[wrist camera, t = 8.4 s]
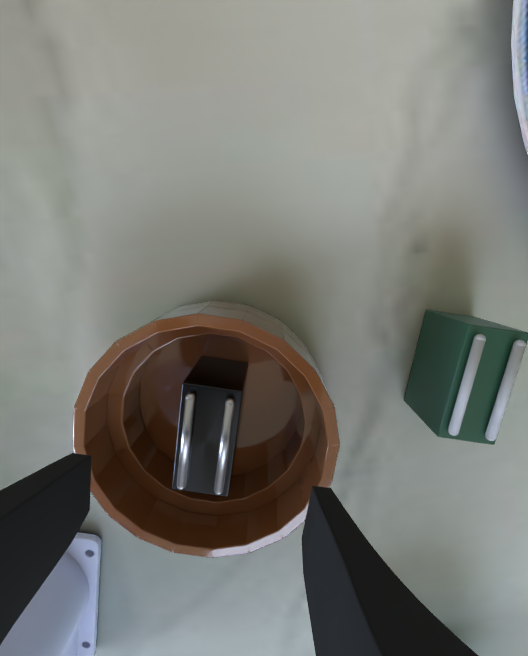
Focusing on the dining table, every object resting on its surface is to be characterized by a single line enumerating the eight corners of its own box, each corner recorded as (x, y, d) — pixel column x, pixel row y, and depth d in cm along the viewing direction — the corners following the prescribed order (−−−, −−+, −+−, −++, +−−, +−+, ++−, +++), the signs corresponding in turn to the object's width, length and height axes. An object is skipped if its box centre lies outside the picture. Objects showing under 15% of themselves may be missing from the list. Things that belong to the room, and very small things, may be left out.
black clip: (236, 448, 18) (227, 504, 14) (191, 442, 18) (168, 496, 14) (249, 362, 17) (242, 395, 13) (200, 355, 17) (179, 386, 13)
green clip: (448, 406, 18) (500, 450, 14) (403, 400, 18) (442, 442, 14) (473, 316, 17) (538, 335, 13) (425, 309, 17) (474, 326, 13)
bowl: (303, 501, 19) (313, 572, 15) (115, 475, 19) (69, 539, 15) (339, 316, 17) (363, 337, 13) (126, 285, 17) (76, 295, 13)
